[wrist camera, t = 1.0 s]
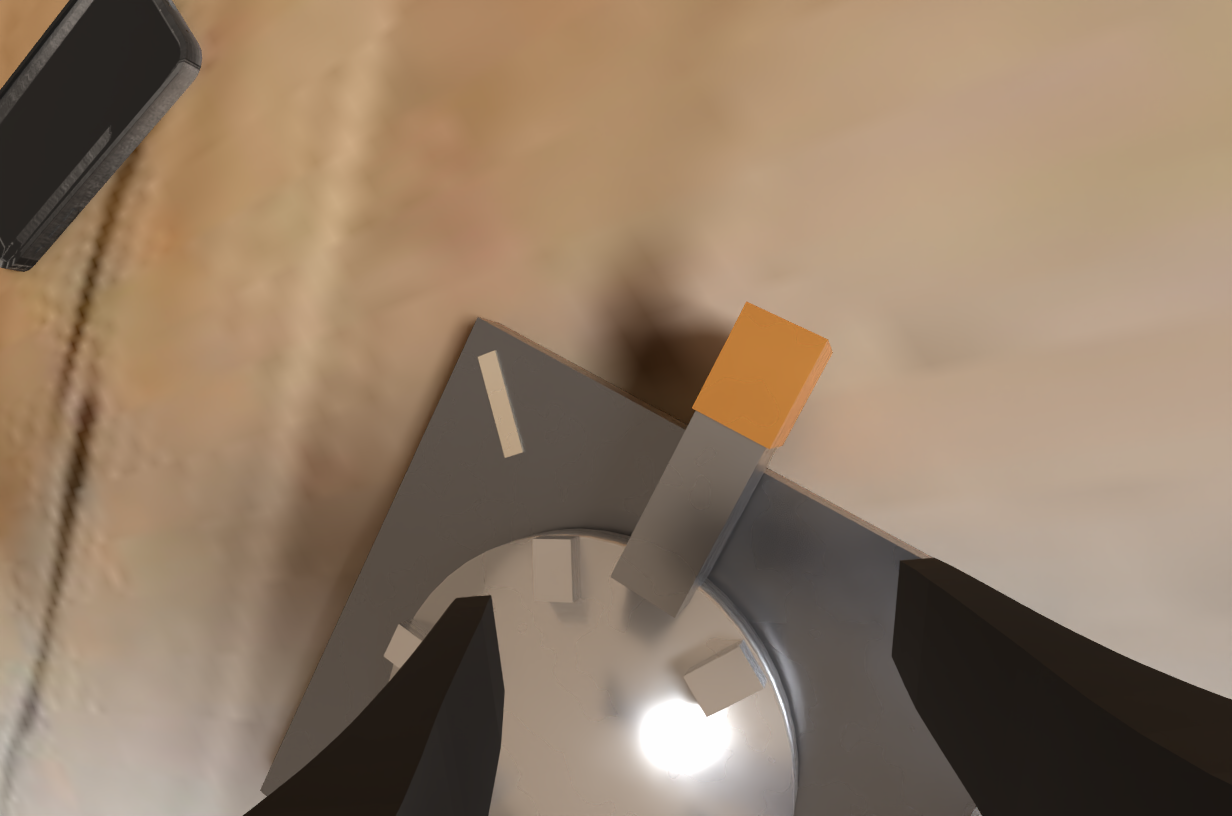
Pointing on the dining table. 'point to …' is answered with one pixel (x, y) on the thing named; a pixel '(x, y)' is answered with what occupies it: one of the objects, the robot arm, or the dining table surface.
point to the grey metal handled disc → (649, 624)
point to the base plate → (614, 501)
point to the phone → (83, 112)
